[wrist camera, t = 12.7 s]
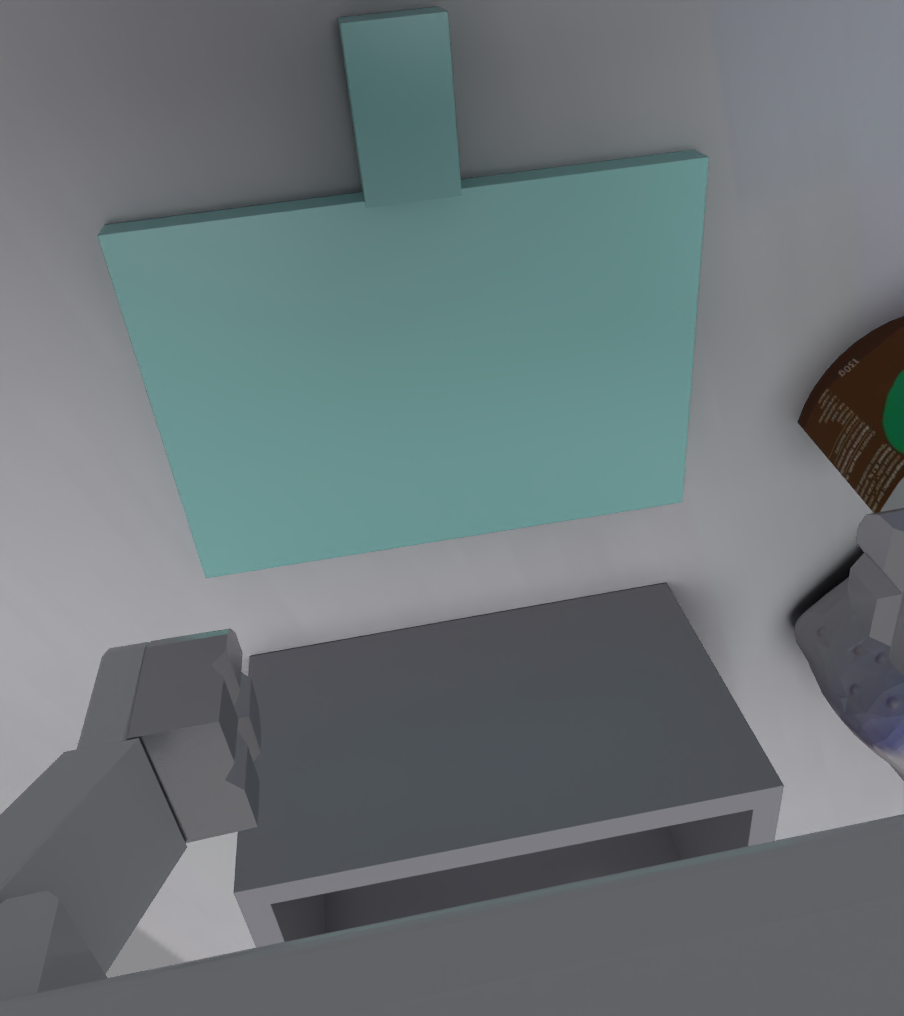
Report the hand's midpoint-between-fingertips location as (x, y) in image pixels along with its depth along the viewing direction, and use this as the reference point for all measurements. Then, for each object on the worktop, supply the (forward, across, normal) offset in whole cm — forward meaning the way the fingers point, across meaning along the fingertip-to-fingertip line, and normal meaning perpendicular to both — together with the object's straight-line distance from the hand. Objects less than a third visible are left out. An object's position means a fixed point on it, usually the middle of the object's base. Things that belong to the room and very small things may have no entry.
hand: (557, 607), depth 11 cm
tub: (+21, 0, +25) cm, 32 cm away
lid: (+21, 0, +4) cm, 22 cm away
